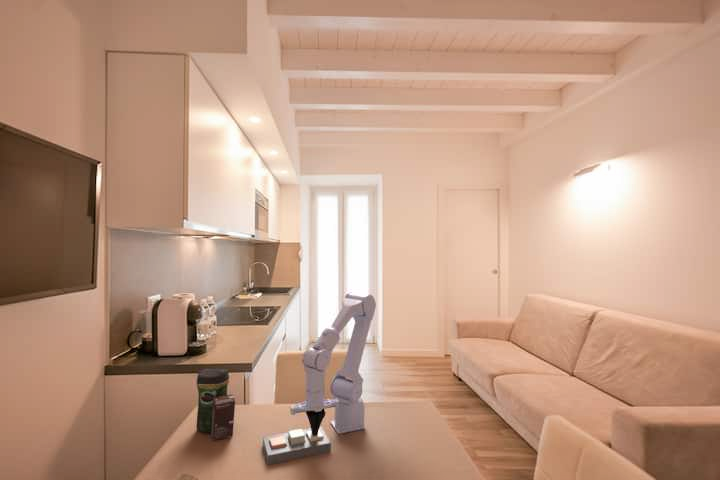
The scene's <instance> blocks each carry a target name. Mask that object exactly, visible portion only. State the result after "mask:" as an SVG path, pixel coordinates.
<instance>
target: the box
mask: <svg viewBox="0 0 720 480" xmlns="http://www.w3.org/2000/svg"><path fill="white" fill-rule="evenodd" d="M235 407H236V400H235V397H234V394H229V395H228V394H227V396H220V397H216V398H213V411H212V429H211V432H210V433H211V437H212V441H217V440H220V439H221V440H222V439H225V438H229V437H233V436H234V423H235V422H234V421H235V411H236V409H235Z"/></svg>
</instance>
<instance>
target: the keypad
mask: <svg viewBox="0 0 720 480" xmlns="http://www.w3.org/2000/svg"><path fill="white" fill-rule="evenodd" d="M302 430H303V432H304V434H305V443H301V444H296V445H291V446H290V443H289V441H288V434H289V432H285V433H279V434H272V435H267V436H263V437H262V447H263V451H264V456H265V458H266V459H265V460H266V463H267V465H273V464H277V463H282V462H286V461H292V460H296V459H301V458H306V457H309V456H310V457H311V456H315V455H316V456H317V455H320V454H325V453H329V452H332V451H331V449H332V447H331V446H332V442H331V440H330V439H329V437H328V436H327V434H326V433H325V430H324V429H323V427H322V426H320V427H319V430H320V432H321V433H322V435H323V439H321V440H316V441H311V442H309V441H308V439H307V437H306V435H307V432H308V431H311V428H306V429H302ZM281 436H284V439H285V441H286V446H285V447H280V448H275V449H271V448H270V438H276V437H281Z"/></svg>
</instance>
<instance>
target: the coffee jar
mask: <svg viewBox="0 0 720 480" xmlns="http://www.w3.org/2000/svg"><path fill="white" fill-rule="evenodd" d="M229 382H230V375H229V370H228V369H227V368H204V369H203V370H200V371H199V372H198V374H197V378H196V387H197V392H198V401H197V402H198V403H197V413H196V414H197V415H196V425H195V426H196V427H195V428H196V430H197V431H198V432H204V433H207V432H208V433H209V432H210V433H211V429H212V411H213V398H216V397H220V396H227V395H228V385H229Z"/></svg>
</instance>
